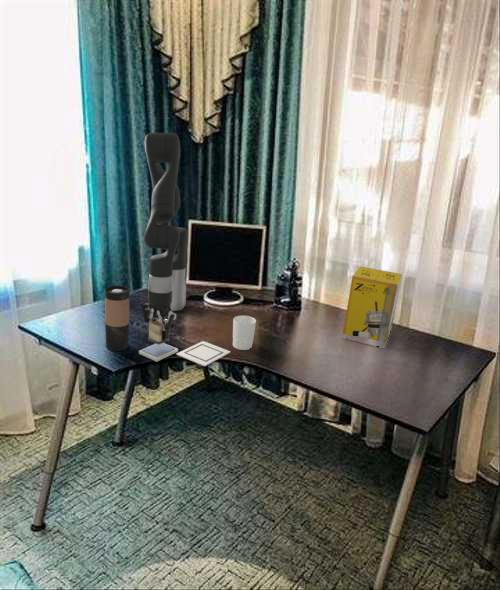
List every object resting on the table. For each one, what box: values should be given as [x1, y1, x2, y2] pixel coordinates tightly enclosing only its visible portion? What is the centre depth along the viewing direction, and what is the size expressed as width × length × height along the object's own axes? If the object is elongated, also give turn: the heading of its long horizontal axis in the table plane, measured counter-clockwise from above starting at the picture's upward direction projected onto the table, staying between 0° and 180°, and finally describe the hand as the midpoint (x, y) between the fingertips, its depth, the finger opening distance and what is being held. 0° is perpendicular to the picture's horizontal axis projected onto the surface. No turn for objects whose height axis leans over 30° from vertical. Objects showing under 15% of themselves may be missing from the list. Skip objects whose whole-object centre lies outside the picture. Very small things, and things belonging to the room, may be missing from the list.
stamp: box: [147, 319, 170, 345], centre depth 158 cm, size 5×5×6 cm
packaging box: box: [342, 266, 403, 344], centre depth 186 cm, size 16×16×25 cm
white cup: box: [232, 315, 257, 351], centre depth 170 cm, size 8×8×10 cm
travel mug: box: [104, 285, 130, 352], centre depth 159 cm, size 8×8×20 cm
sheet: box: [175, 340, 231, 367], centre depth 163 cm, size 14×12×1 cm
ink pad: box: [138, 342, 179, 363], centre depth 161 cm, size 10×8×1 cm
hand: (158, 337), depth 159 cm, fingers closed on stamp, 4 cm apart
